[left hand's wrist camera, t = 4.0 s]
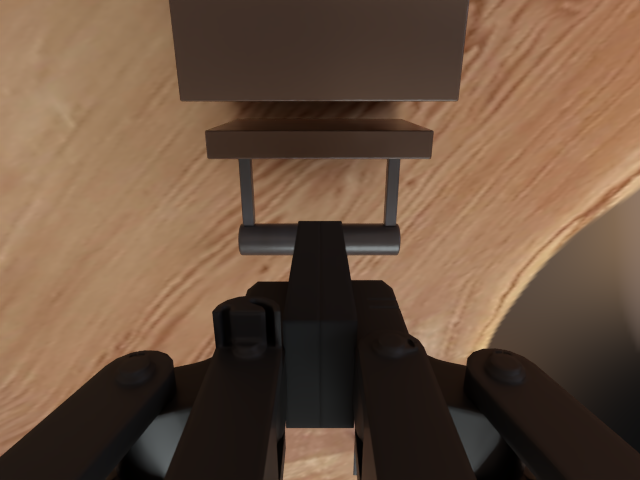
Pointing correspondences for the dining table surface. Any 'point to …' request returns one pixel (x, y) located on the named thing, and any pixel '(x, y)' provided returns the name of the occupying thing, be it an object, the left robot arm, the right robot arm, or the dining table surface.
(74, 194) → the dining table surface
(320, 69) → the cabinet
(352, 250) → the drawer
